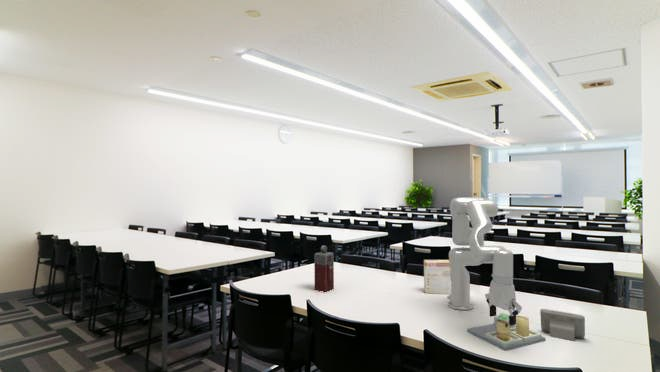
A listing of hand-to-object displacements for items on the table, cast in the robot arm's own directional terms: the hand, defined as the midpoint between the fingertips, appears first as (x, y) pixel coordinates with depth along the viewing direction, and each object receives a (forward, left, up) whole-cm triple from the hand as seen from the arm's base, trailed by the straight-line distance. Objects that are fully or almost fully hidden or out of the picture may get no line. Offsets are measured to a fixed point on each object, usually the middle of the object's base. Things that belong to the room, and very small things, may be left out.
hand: (502, 320), depth 146 cm
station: (-3, +5, -9) cm, 11 cm away
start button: (-9, +11, -7) cm, 16 cm away
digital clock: (+6, +28, -9) cm, 30 cm away
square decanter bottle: (-98, -40, -9) cm, 106 cm away
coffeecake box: (-66, +21, -9) cm, 70 cm away
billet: (+1, 0, -7) cm, 7 cm away
